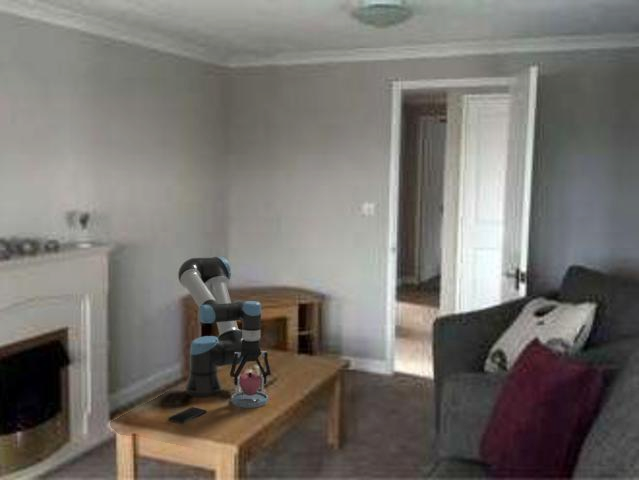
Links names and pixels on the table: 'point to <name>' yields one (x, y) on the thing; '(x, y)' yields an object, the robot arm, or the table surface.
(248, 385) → the apple
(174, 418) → the phone
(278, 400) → the table surface
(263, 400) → the dish
